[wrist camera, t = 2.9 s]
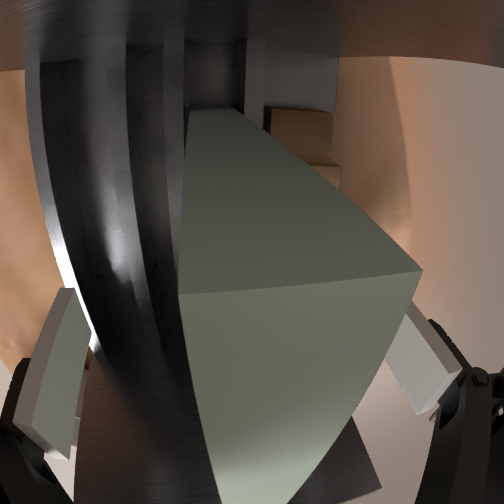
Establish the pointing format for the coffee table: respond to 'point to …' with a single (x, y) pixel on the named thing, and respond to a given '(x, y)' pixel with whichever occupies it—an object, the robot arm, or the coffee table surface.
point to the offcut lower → (300, 129)
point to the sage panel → (277, 304)
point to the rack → (170, 190)
